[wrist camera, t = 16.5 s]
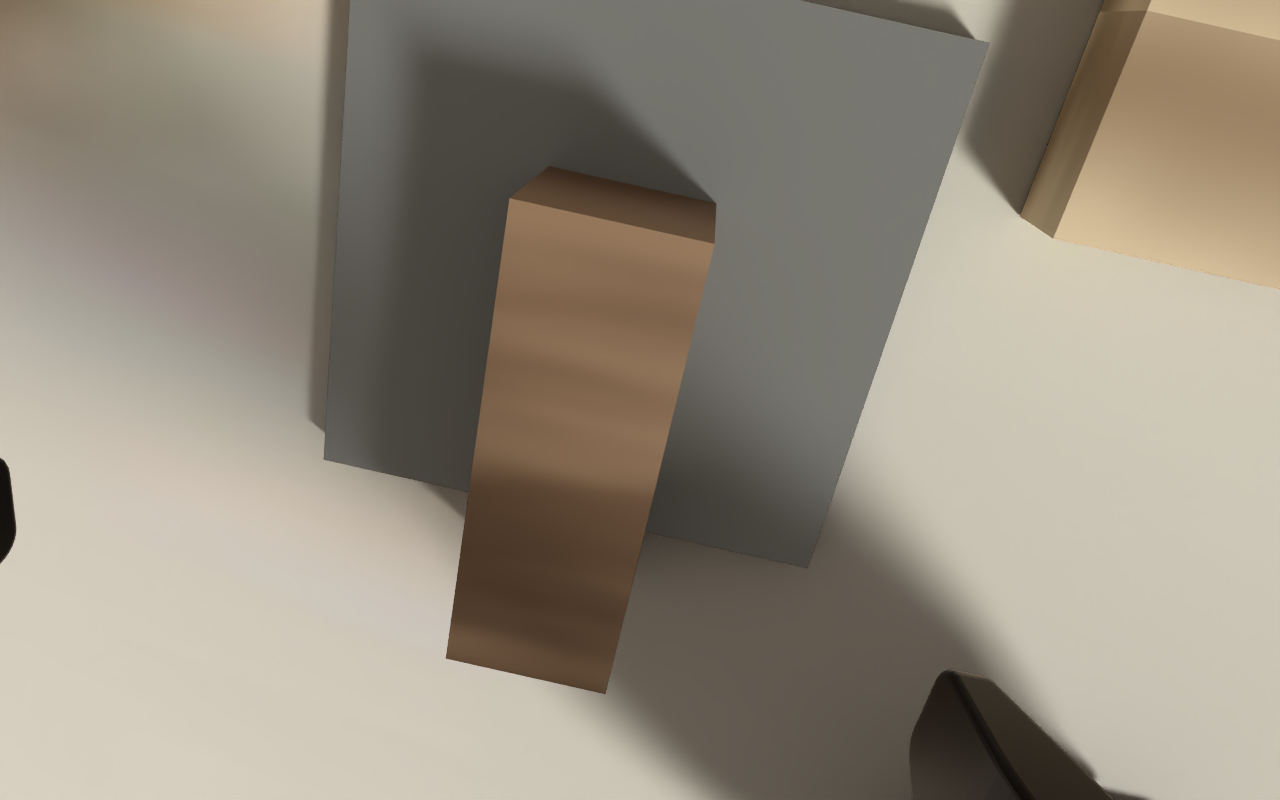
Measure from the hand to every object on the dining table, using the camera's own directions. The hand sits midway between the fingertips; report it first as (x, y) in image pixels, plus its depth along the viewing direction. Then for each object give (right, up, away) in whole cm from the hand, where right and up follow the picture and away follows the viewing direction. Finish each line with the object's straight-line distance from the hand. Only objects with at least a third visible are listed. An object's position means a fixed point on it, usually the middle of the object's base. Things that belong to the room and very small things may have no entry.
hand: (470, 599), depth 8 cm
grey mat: (+1, +5, +11) cm, 12 cm away
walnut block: (0, +1, +10) cm, 10 cm away
